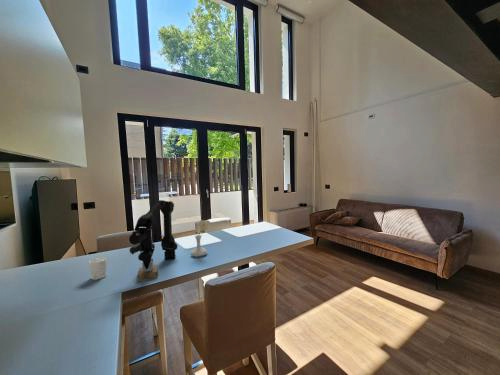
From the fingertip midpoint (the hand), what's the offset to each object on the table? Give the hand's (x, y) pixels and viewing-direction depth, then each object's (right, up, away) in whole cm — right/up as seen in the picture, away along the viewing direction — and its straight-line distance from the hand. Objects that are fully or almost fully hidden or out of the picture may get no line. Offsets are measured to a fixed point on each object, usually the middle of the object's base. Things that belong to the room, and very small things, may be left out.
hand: (147, 265), depth 120 cm
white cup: (-28, -7, 0) cm, 29 cm away
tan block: (0, -6, 0) cm, 6 cm away
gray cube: (0, -2, 0) cm, 2 cm away
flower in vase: (+23, -4, +30) cm, 38 cm away
